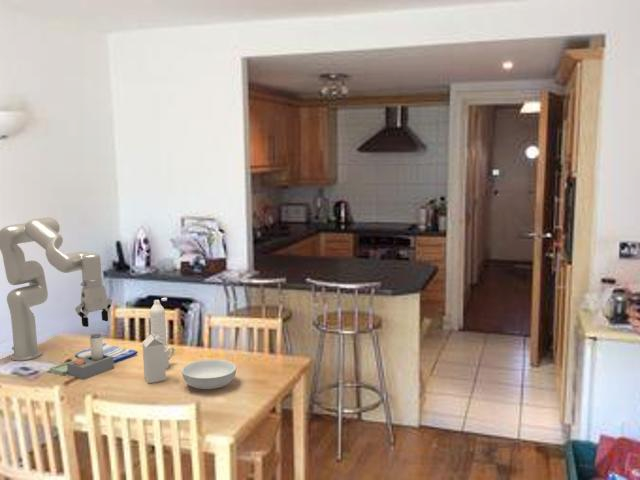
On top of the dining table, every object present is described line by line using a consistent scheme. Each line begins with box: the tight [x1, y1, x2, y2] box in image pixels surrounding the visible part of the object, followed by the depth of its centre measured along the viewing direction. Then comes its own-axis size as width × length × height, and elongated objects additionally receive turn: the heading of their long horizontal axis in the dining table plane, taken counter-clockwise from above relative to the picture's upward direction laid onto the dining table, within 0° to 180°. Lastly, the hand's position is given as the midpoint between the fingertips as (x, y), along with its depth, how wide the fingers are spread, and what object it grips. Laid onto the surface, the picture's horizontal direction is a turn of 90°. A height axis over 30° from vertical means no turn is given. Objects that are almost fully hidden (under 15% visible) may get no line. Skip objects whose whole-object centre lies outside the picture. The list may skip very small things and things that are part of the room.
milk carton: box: [142, 331, 167, 384], centre depth 240 cm, size 7×7×19 cm
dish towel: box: [74, 342, 138, 365], centre depth 270 cm, size 17×24×3 cm
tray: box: [49, 361, 71, 377], centre depth 252 cm, size 9×9×2 cm
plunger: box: [75, 358, 84, 366], centre depth 246 cm, size 3×3×4 cm
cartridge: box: [89, 333, 104, 361], centre depth 252 cm, size 5×5×13 cm
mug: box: [164, 345, 175, 371], centre depth 254 cm, size 13×10×8 cm
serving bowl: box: [181, 359, 237, 390], centre depth 234 cm, size 21×21×7 cm
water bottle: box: [149, 297, 168, 347], centre depth 271 cm, size 9×6×25 cm
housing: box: [66, 354, 115, 380], centre depth 250 cm, size 10×15×5 cm, turn 148°
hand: (95, 323), depth 251 cm, fingers open, 9 cm apart
